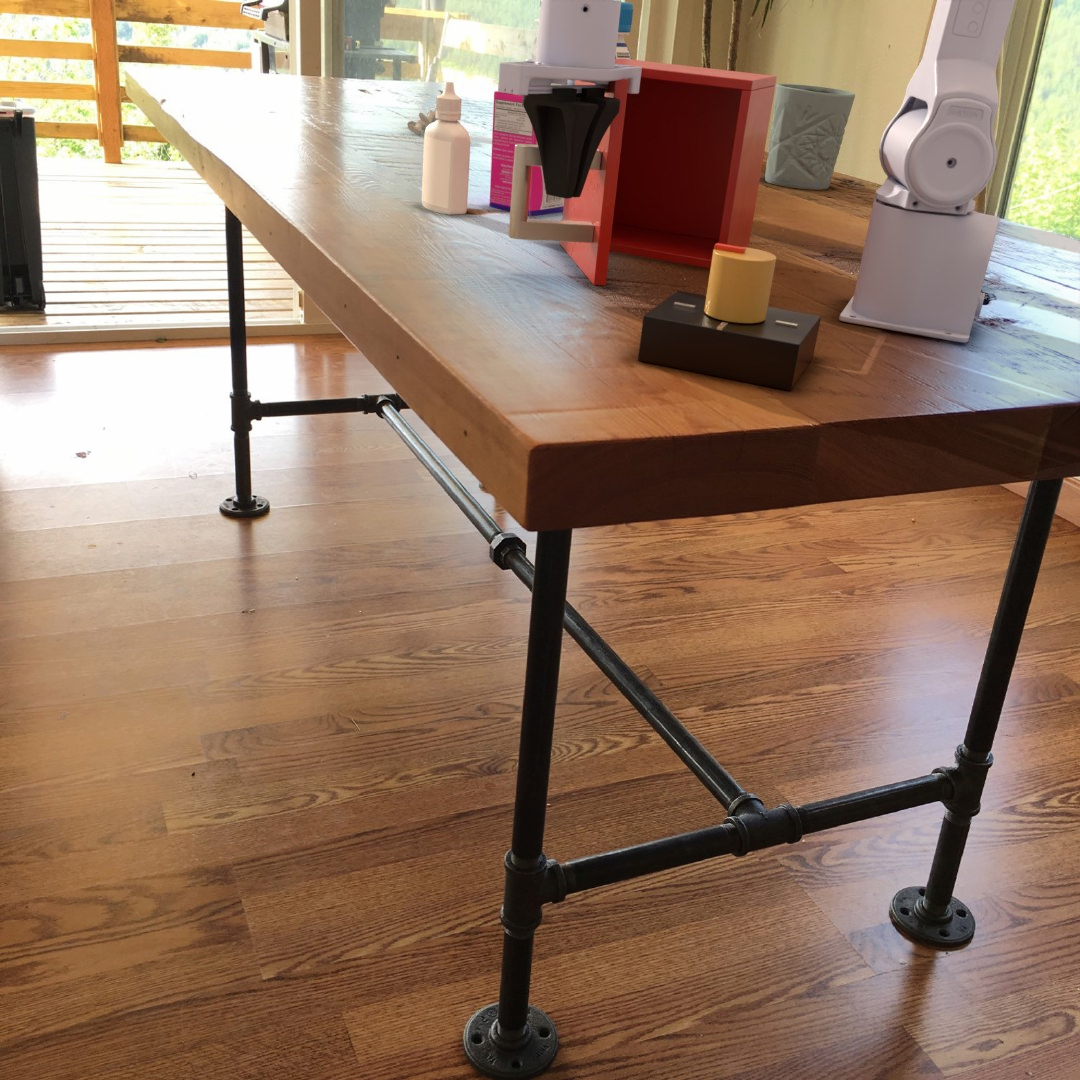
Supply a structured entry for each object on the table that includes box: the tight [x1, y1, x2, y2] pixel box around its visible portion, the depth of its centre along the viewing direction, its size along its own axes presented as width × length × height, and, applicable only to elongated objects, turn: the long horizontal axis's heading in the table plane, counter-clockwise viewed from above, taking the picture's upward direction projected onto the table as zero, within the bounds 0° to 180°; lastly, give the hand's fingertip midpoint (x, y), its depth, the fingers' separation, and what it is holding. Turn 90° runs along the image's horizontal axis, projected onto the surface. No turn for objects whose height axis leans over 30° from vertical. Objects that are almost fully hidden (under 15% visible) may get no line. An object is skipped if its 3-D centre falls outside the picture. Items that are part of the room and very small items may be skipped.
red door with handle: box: [508, 79, 628, 287], centre depth 92 cm, size 8×15×15 cm, turn 10°
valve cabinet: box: [609, 58, 778, 269], centre depth 101 cm, size 10×15×16 cm
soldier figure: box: [406, 89, 444, 136], centre depth 166 cm, size 8×5×12 cm
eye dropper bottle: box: [421, 81, 471, 216], centre depth 110 cm, size 4×6×12 cm
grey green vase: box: [764, 83, 856, 191], centre depth 147 cm, size 10×10×12 cm
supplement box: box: [488, 90, 564, 217], centre depth 114 cm, size 6×6×12 cm
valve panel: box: [637, 290, 822, 392], centre depth 74 cm, size 10×8×3 cm
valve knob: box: [704, 243, 777, 323], centre depth 72 cm, size 4×4×4 cm
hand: (563, 195), depth 85 cm, fingers closed
